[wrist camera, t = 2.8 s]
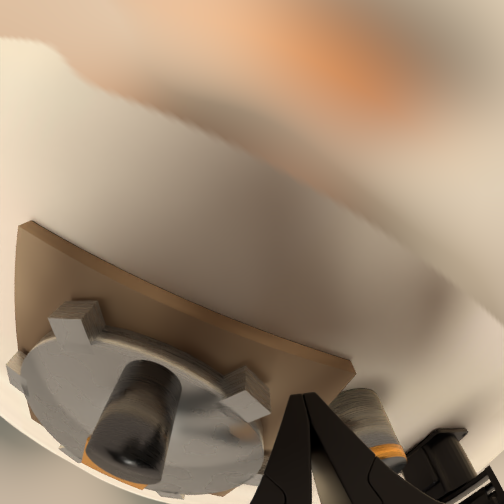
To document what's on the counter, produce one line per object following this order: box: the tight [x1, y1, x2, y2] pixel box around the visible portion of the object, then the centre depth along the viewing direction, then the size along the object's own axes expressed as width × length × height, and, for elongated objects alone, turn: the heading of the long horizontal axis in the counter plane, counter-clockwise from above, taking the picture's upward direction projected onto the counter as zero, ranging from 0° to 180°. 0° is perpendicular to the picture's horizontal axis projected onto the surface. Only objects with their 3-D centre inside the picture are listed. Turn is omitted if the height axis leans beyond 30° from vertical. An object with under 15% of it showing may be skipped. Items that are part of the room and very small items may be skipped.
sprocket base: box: [15, 221, 356, 497], centre depth 13 cm, size 17×17×1 cm
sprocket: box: [6, 301, 271, 499], centre depth 10 cm, size 16×15×6 cm
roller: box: [328, 388, 407, 474], centre depth 12 cm, size 4×4×5 cm
